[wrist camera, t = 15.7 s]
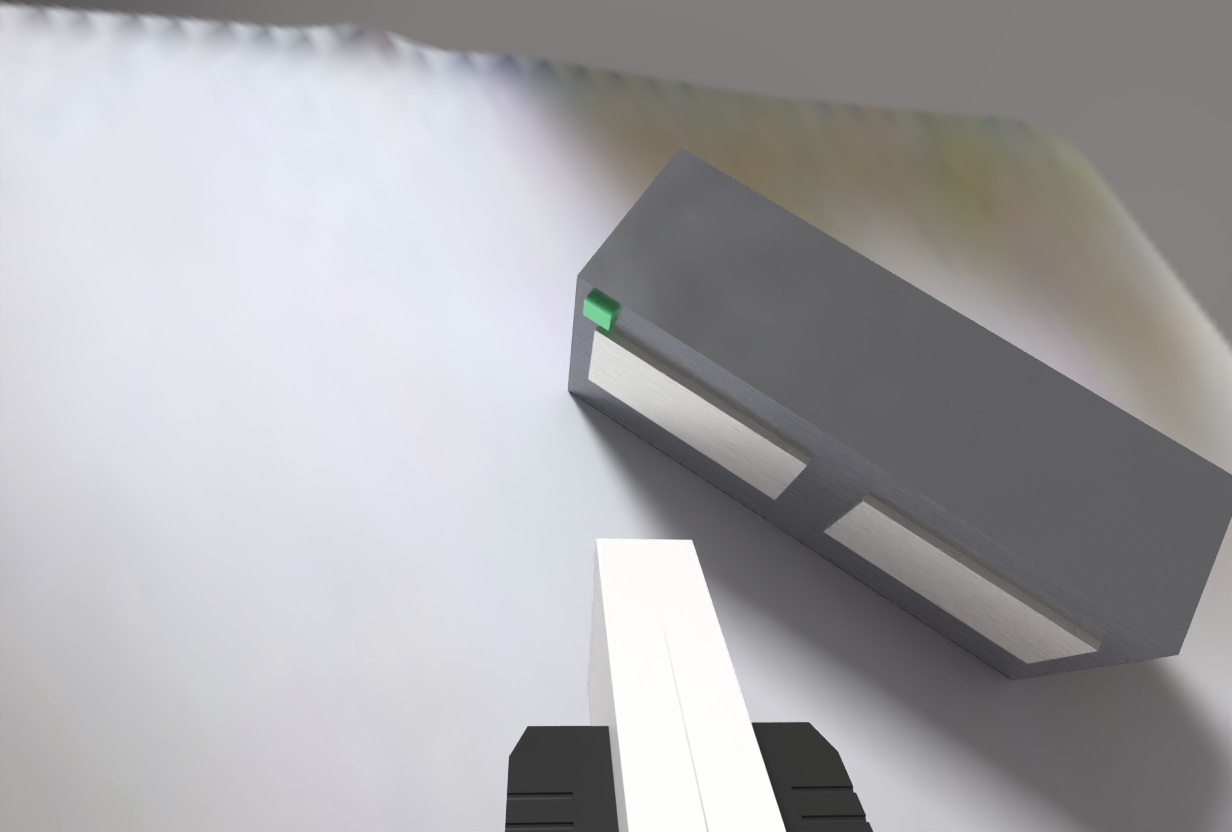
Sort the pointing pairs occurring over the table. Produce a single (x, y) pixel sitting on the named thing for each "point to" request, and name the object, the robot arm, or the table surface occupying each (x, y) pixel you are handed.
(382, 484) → the table surface
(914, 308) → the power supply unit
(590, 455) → the table surface
